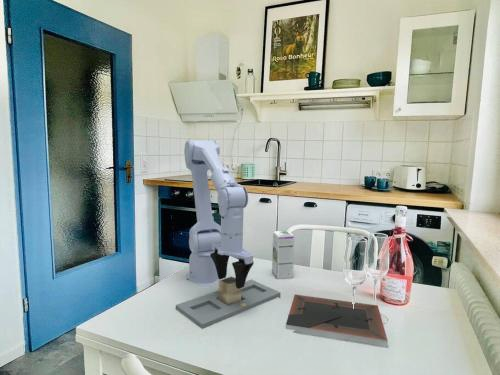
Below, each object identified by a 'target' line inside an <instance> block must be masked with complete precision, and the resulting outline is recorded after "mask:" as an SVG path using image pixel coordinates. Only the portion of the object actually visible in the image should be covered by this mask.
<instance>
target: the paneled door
mask: <svg viewBox="0 0 500 375" xmlns="http://www.w3.org/2000/svg"><path fill="white" fill-rule="evenodd" d="M218 294H219V290H215V291H213V292H210V293H207V294H204V295H201V296H199V297H195V298H192V299H189V300H186V301H183V302H181V303H178V304H176V305H175V310H176V311H178V312H179V313H180V314H182V315H183V316H185V317H186V318H187V319H189V320H190V321H192V323H194V324H195V325H197V326H198V327H199V328H201V329H202V330H203V329H205V328H208V327H210V326H212V325H213V326H214V324H218V323H219V322H222V321H224V320H225V321H226V320H227V319H229V318H232V317H234V316H237V315H239V314H241V313H244V312H246V311H248V310H251V309H254V308H255V307H258V306H261V305H263V304H265V303H267V302H270V301H273V300H274V299H277V298H278V299H281V295H282V294H281V292H280V291H278V290H276V289H273V288H271V287H269V286H267V285H265V284H262V283H261V282H258V281H256V280H254V279H250V280H249V279H248V280H246V281H245V285H244V287H242V288H241V301H239V302H237V303H234V304H231V305H229V306H228V305H226V304H225V303H223V302H221V301H220V300H218Z"/></svg>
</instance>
